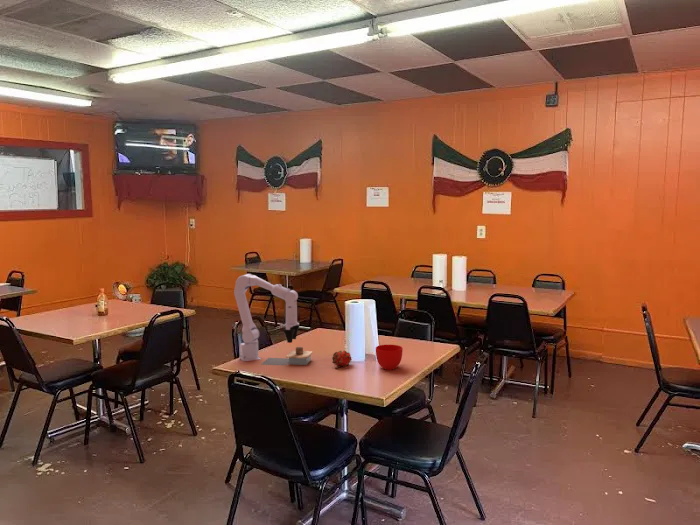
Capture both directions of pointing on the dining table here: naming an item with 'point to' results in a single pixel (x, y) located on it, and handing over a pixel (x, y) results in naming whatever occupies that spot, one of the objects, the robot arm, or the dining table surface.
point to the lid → (299, 353)
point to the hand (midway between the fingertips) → (291, 340)
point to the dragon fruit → (341, 358)
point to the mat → (276, 361)
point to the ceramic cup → (389, 356)
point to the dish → (299, 361)
